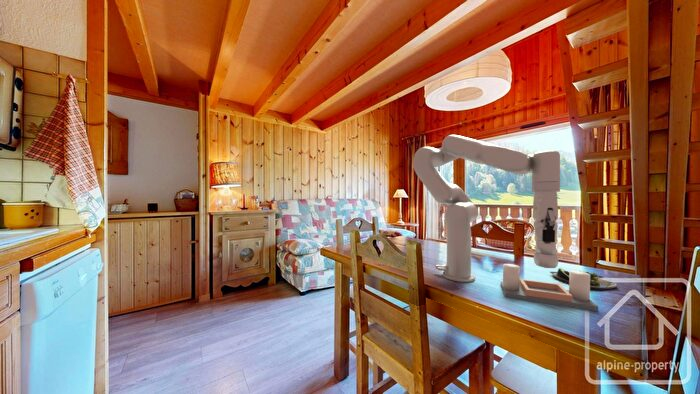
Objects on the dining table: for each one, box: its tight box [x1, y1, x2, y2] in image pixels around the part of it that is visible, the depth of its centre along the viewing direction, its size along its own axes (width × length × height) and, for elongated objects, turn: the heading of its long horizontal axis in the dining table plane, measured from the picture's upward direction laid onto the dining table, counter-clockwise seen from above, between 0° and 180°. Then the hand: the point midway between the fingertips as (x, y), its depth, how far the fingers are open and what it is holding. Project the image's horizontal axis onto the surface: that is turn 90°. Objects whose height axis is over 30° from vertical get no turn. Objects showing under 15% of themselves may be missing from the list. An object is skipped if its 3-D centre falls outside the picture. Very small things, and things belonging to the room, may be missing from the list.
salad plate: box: [549, 268, 618, 291], centre depth 100 cm, size 19×18×5 cm
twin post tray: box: [500, 263, 599, 312], centre depth 85 cm, size 24×12×10 cm, turn 65°
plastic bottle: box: [533, 219, 559, 269], centre depth 85 cm, size 6×7×20 cm
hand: (545, 239), depth 85 cm, fingers closed on plastic bottle, 6 cm apart
